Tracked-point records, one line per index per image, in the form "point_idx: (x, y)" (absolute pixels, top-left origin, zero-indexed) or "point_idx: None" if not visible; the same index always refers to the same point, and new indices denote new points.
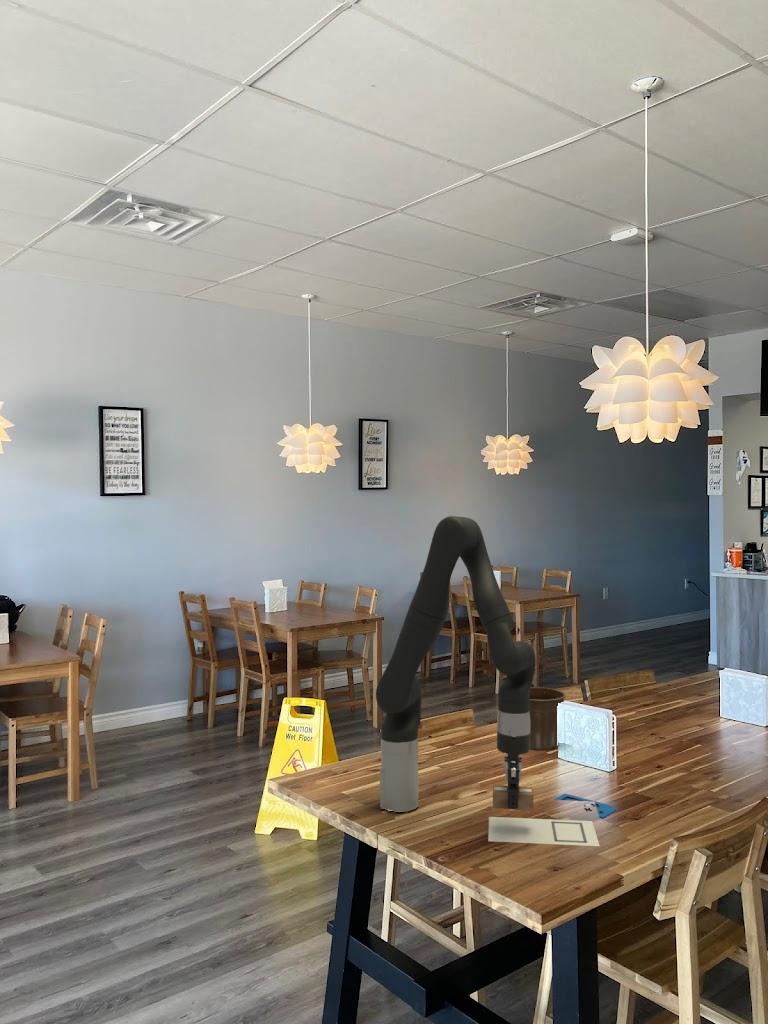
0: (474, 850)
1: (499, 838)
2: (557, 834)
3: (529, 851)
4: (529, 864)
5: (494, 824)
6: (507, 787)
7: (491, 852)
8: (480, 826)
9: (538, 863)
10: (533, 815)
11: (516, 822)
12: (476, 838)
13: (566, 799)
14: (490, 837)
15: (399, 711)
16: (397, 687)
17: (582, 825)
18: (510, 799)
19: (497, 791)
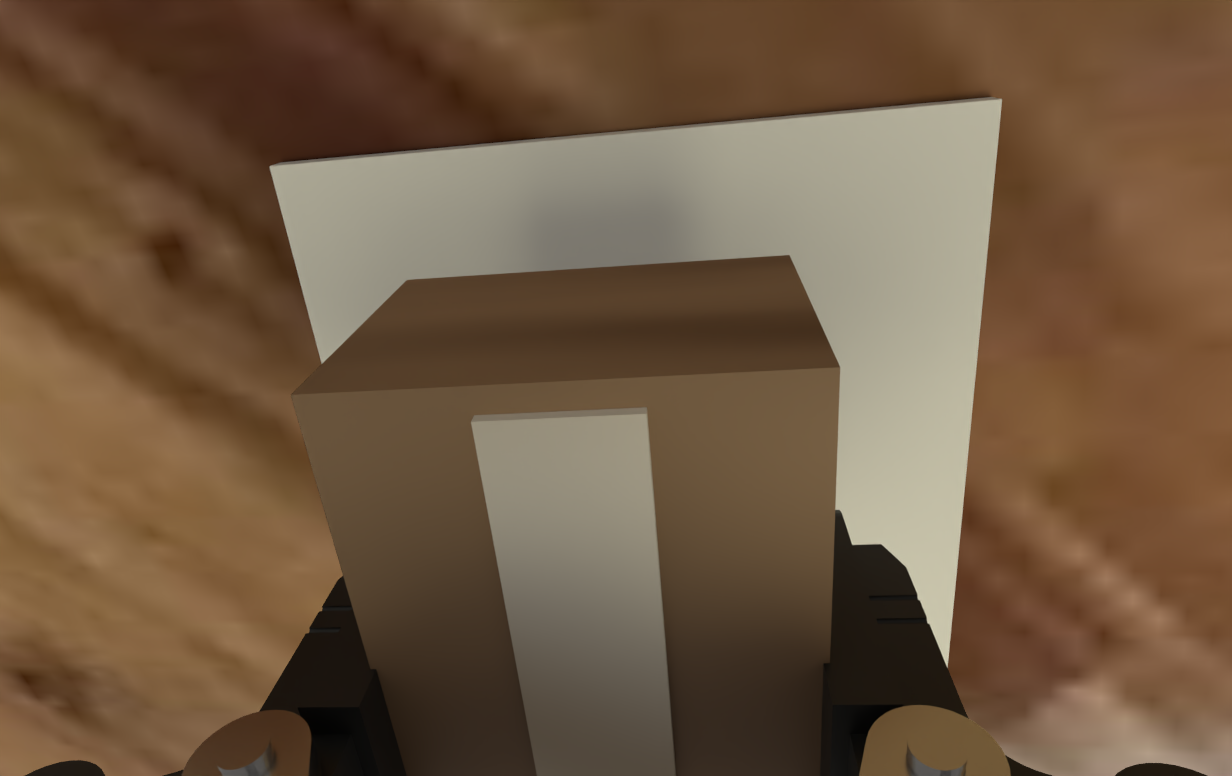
0: (48, 24)
1: (375, 278)
2: None
3: (256, 529)
4: (21, 530)
5: (751, 193)
6: (721, 657)
7: (87, 214)
8: (736, 10)
9: (72, 588)
10: (1098, 556)
11: (841, 422)
12: (365, 5)
13: None
14: (370, 180)
15: None
16: None
17: None
18: (302, 653)
19: (407, 484)
